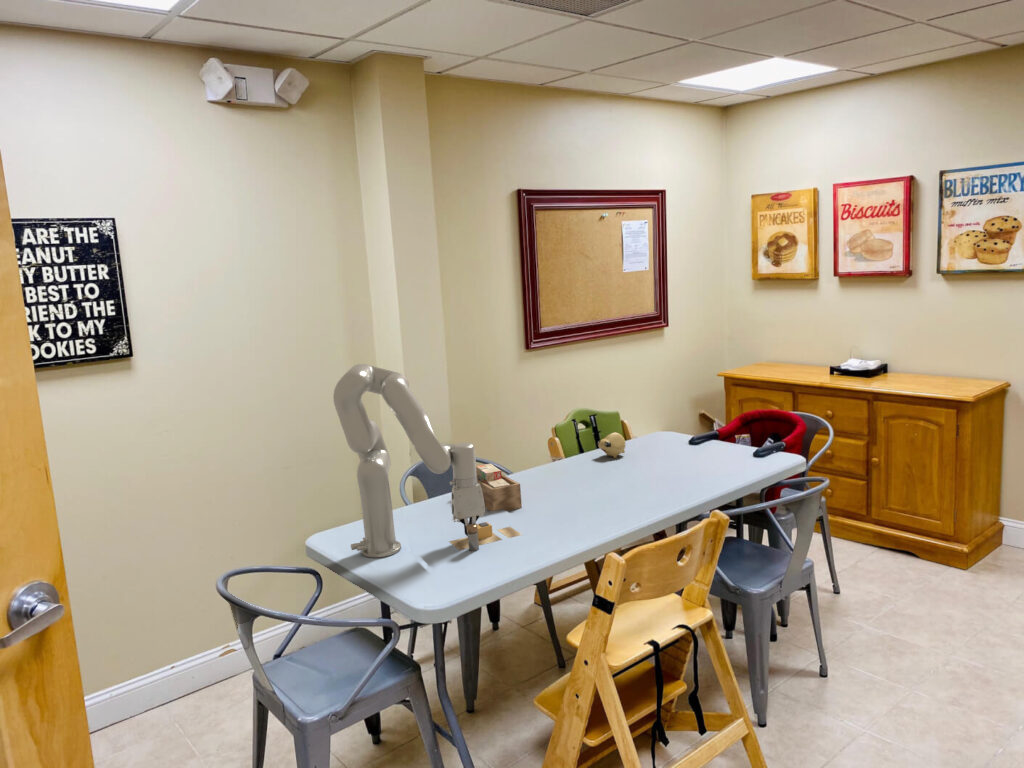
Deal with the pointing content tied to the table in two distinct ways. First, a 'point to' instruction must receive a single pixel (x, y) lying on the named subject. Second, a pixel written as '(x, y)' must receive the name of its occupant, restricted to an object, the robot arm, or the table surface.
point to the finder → (484, 530)
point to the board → (463, 542)
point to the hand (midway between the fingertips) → (470, 535)
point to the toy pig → (612, 444)
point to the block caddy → (502, 495)
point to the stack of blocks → (490, 476)
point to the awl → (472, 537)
